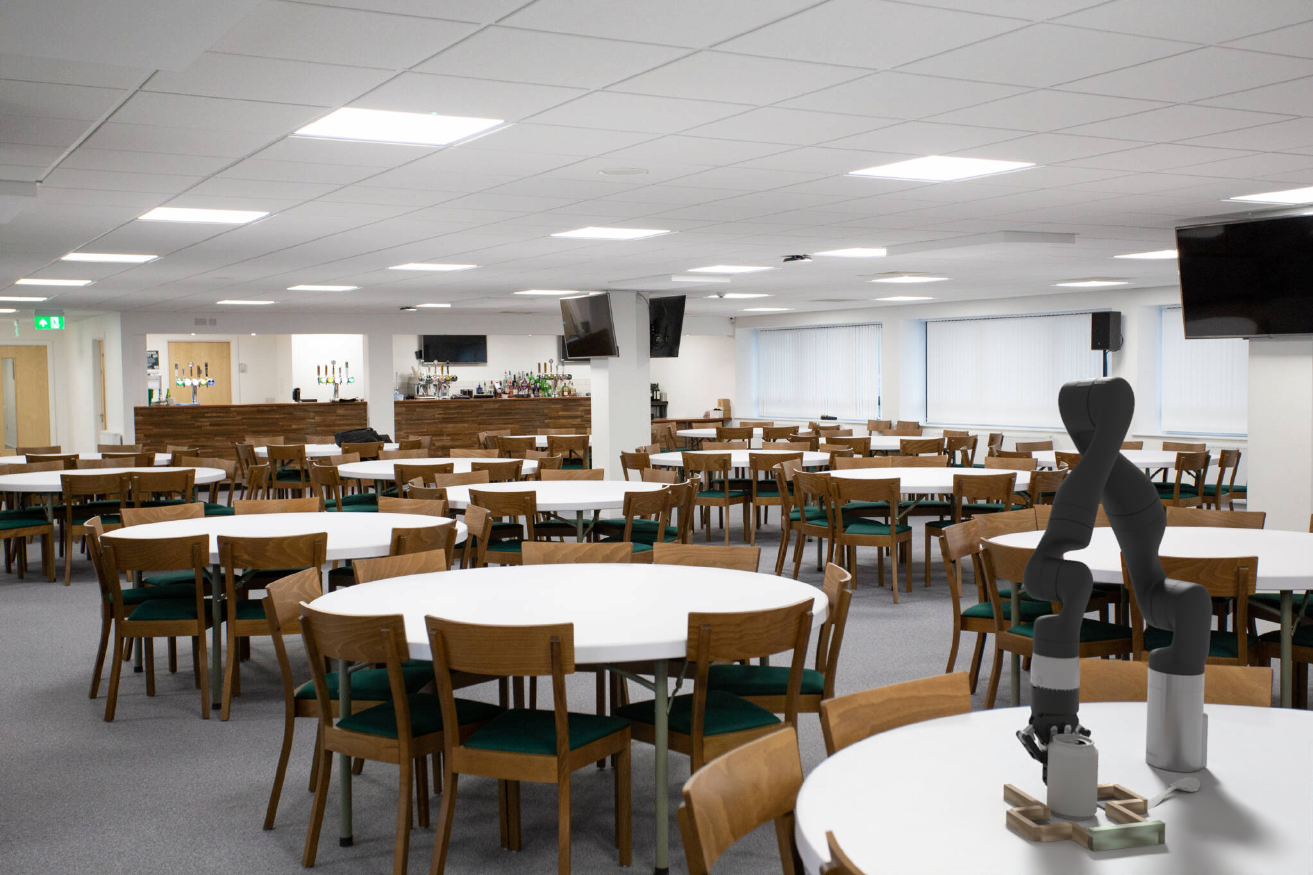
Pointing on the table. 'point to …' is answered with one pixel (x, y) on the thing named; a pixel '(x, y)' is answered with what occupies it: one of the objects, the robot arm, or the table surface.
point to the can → (1072, 776)
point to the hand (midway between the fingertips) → (1052, 786)
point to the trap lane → (1116, 805)
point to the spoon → (1186, 782)
